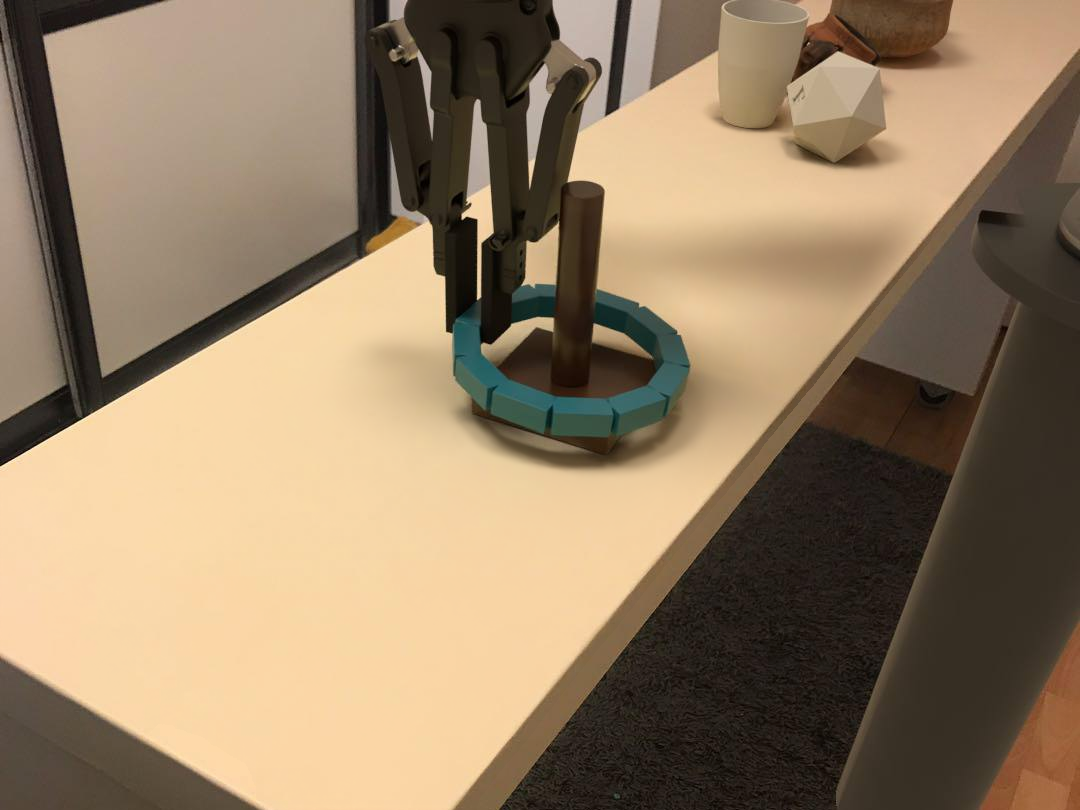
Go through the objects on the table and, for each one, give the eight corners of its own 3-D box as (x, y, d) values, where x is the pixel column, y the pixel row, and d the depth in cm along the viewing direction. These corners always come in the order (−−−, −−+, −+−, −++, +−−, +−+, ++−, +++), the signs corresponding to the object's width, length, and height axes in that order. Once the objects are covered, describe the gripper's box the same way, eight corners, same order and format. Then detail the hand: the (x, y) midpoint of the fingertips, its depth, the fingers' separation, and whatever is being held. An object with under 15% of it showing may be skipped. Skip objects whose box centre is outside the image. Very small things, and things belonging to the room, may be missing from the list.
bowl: (838, 5, 134) (880, -79, 126) (938, 58, 132) (985, -24, 125) (795, 39, 121) (839, -52, 114) (904, 97, 119) (955, 9, 112)
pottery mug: (779, 73, 118) (831, 5, 114) (842, 129, 118) (897, 63, 113) (750, 72, 108) (806, -2, 104) (819, 134, 108) (878, 62, 103)
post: (660, 382, 69) (688, 177, 60) (606, 455, 62) (628, 239, 54) (535, 346, 71) (543, 145, 62) (471, 413, 65) (470, 200, 56)
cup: (799, 115, 107) (820, 7, 101) (773, 140, 102) (793, 28, 95) (723, 99, 110) (739, -7, 103) (694, 122, 104) (709, 12, 98)
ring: (713, 350, 69) (718, 328, 67) (631, 467, 59) (636, 444, 58) (516, 283, 72) (518, 262, 71) (408, 383, 62) (409, 360, 61)
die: (798, 132, 105) (766, 55, 98) (890, 95, 102) (864, 12, 94) (809, 195, 101) (776, 120, 94) (905, 158, 98) (879, 77, 90)
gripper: (308, -112, 51) (345, 325, 66) (591, -68, 46) (560, 389, 62) (391, -134, 56) (407, 276, 72) (652, -96, 52) (610, 332, 67)
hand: (478, 328), depth 67 cm, fingers closed on ring, 2 cm apart
